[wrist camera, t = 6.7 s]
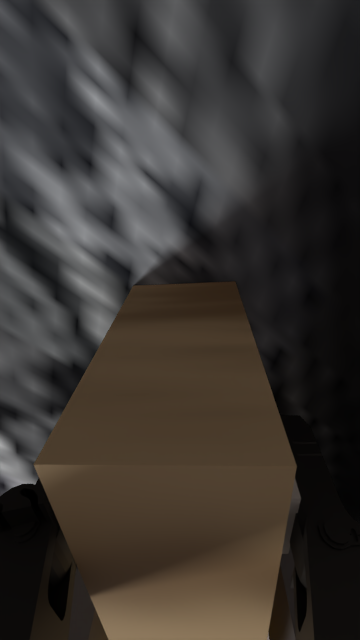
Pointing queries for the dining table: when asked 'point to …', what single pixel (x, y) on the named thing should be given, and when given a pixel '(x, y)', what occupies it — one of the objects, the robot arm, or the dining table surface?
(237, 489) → the tan wooden block
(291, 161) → the dining table surface
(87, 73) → the dining table surface
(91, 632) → the chute
